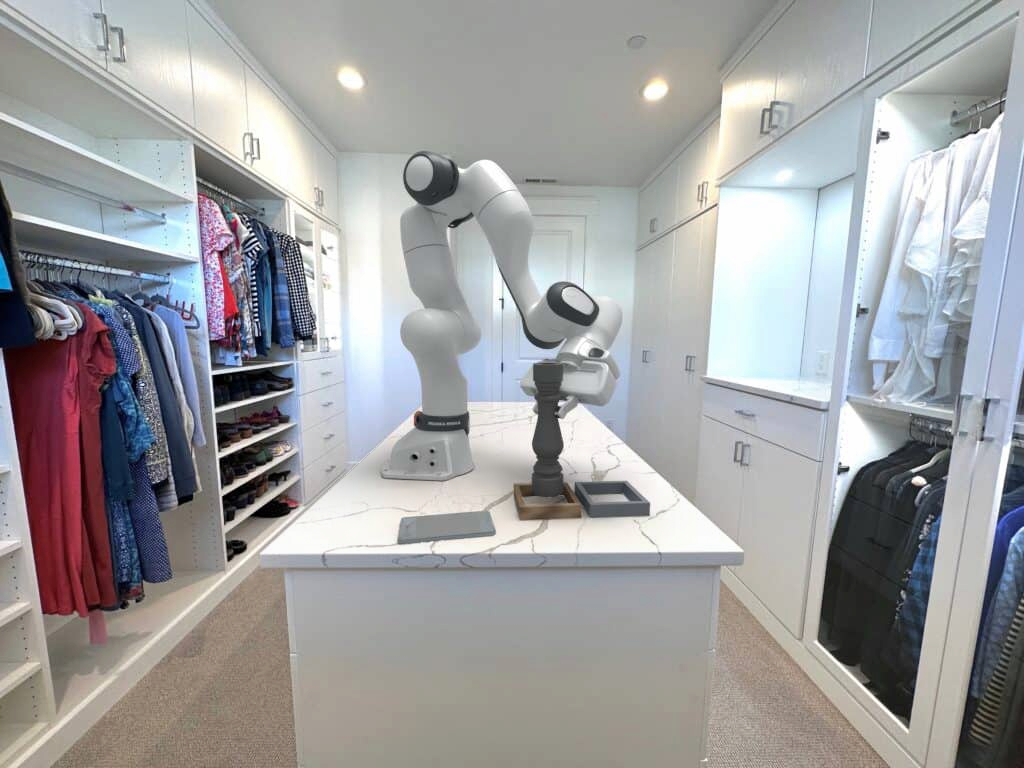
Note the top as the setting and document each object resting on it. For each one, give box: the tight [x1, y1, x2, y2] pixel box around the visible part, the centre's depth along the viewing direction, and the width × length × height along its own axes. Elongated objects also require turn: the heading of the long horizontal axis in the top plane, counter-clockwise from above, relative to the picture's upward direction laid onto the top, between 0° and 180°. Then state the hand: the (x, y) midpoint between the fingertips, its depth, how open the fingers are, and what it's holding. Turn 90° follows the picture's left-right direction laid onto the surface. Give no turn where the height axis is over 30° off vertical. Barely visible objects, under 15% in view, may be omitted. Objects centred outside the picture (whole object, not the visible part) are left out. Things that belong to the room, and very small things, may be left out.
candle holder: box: [531, 362, 565, 499], centre depth 76 cm, size 6×6×25 cm
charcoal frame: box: [573, 480, 651, 519], centre depth 79 cm, size 11×11×2 cm
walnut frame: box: [513, 481, 583, 521], centre depth 78 cm, size 11×11×2 cm
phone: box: [397, 510, 497, 545], centre depth 68 cm, size 8×16×1 cm, turn 102°
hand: (547, 414), depth 75 cm, fingers closed on candle holder, 4 cm apart
